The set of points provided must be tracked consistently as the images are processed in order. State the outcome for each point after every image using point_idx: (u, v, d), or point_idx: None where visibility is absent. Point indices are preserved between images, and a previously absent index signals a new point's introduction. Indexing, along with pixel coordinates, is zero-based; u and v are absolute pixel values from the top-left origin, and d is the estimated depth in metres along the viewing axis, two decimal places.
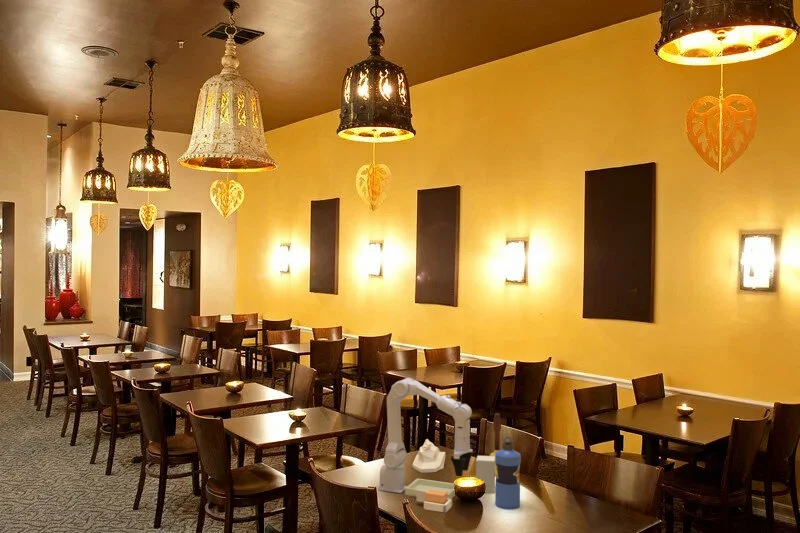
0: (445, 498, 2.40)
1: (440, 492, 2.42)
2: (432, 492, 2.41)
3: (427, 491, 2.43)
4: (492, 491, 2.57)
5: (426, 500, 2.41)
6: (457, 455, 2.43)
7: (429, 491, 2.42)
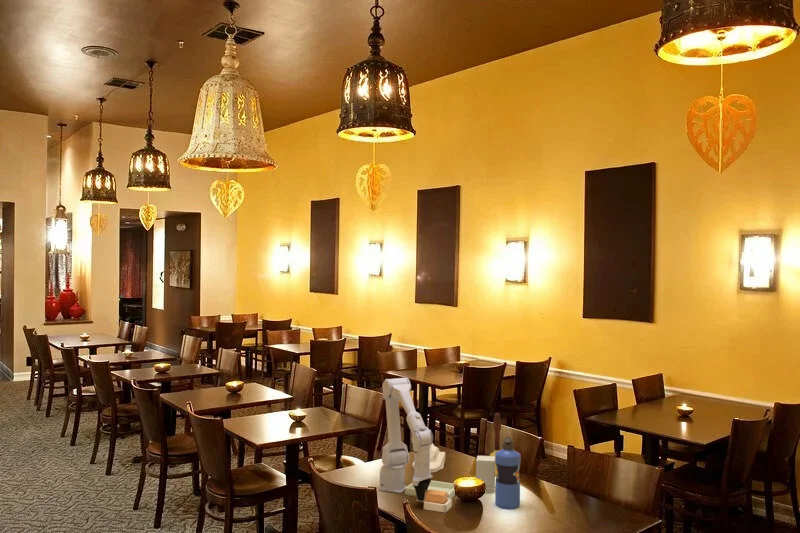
0: (445, 498, 2.40)
1: (440, 492, 2.42)
2: (432, 492, 2.41)
3: (427, 491, 2.43)
4: (492, 491, 2.57)
5: (426, 500, 2.41)
6: (415, 482, 2.37)
7: (429, 491, 2.42)
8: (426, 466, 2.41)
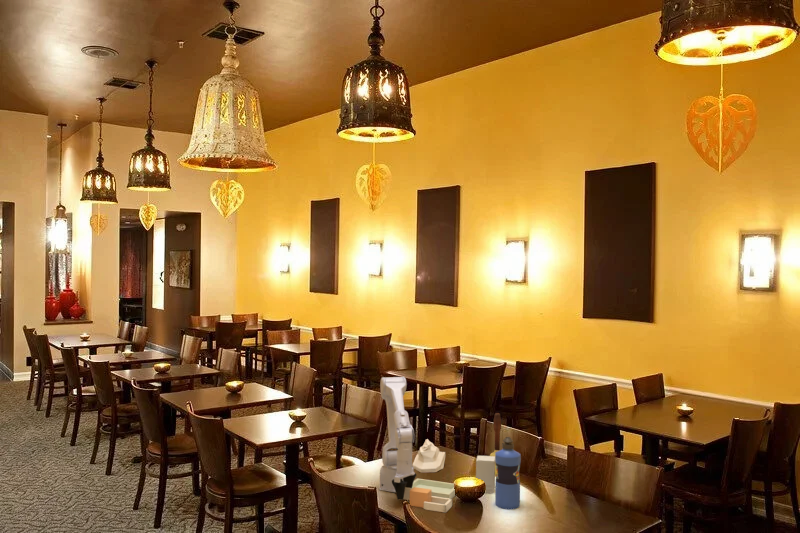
0: (429, 496, 2.43)
1: (424, 490, 2.44)
2: (416, 490, 2.44)
3: (411, 488, 2.45)
4: (492, 491, 2.57)
5: (410, 498, 2.43)
6: (397, 479, 2.40)
7: (413, 489, 2.45)
8: (408, 463, 2.44)
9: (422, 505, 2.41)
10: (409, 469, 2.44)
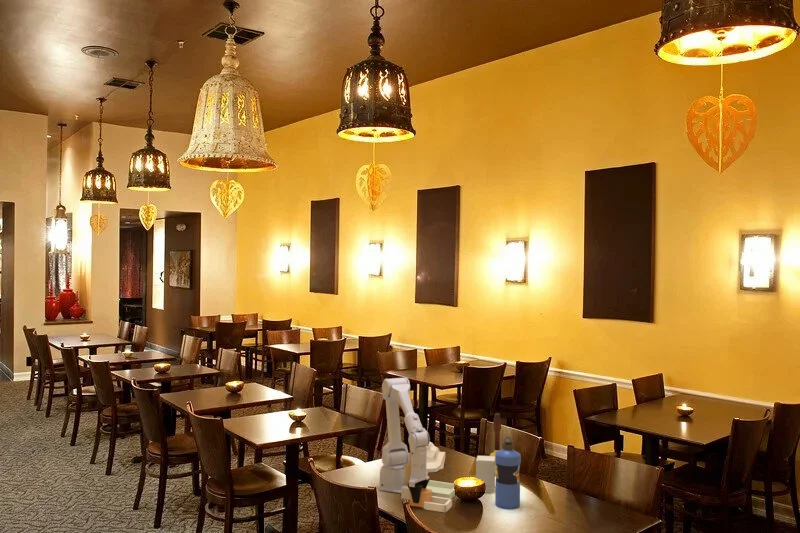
0: (429, 495, 2.43)
1: (424, 489, 2.44)
2: None
3: None
4: (492, 491, 2.57)
5: (410, 497, 2.43)
6: (412, 483, 2.37)
7: None
8: (423, 467, 2.42)
9: (422, 505, 2.41)
10: (423, 473, 2.42)
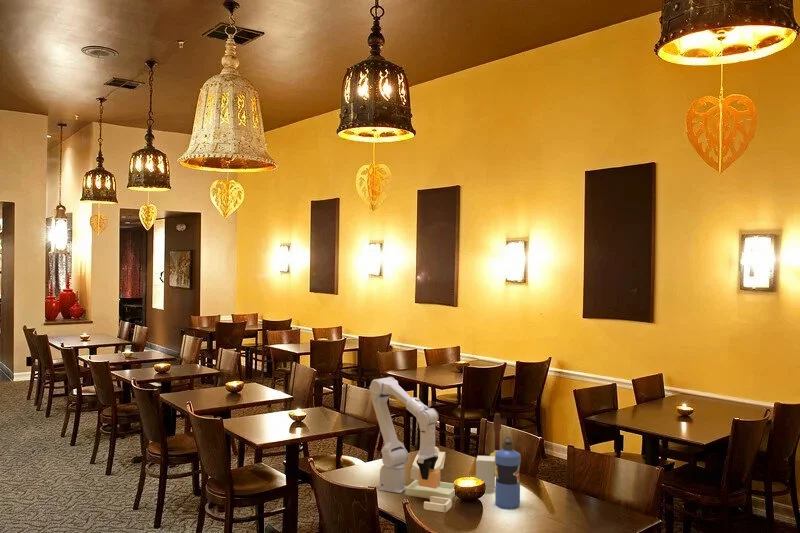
0: (438, 476, 2.48)
1: (433, 470, 2.49)
2: None
3: None
4: (492, 491, 2.57)
5: (420, 478, 2.48)
6: (421, 459, 2.43)
7: None
8: (432, 444, 2.47)
9: (431, 485, 2.47)
10: (432, 450, 2.48)
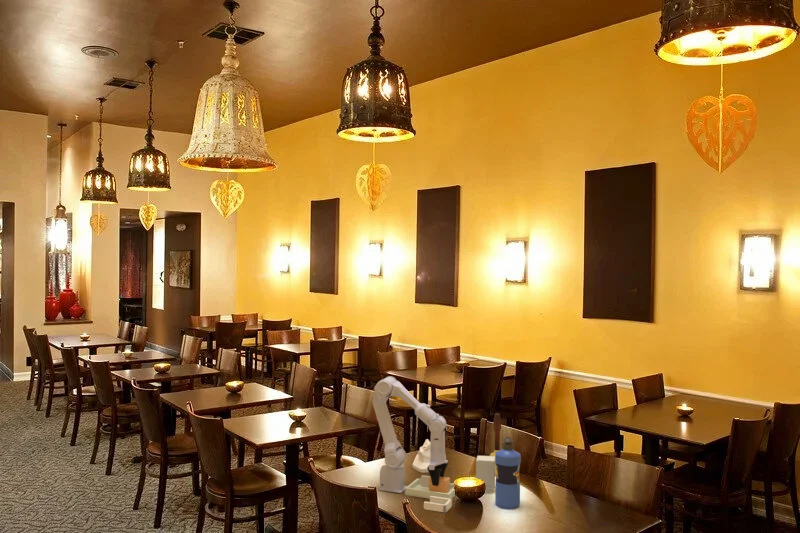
0: (448, 483, 2.55)
1: (443, 478, 2.56)
2: None
3: (430, 477, 2.57)
4: (492, 491, 2.57)
5: (430, 485, 2.55)
6: (432, 466, 2.49)
7: None
8: (442, 451, 2.54)
9: (441, 492, 2.53)
10: (442, 457, 2.54)
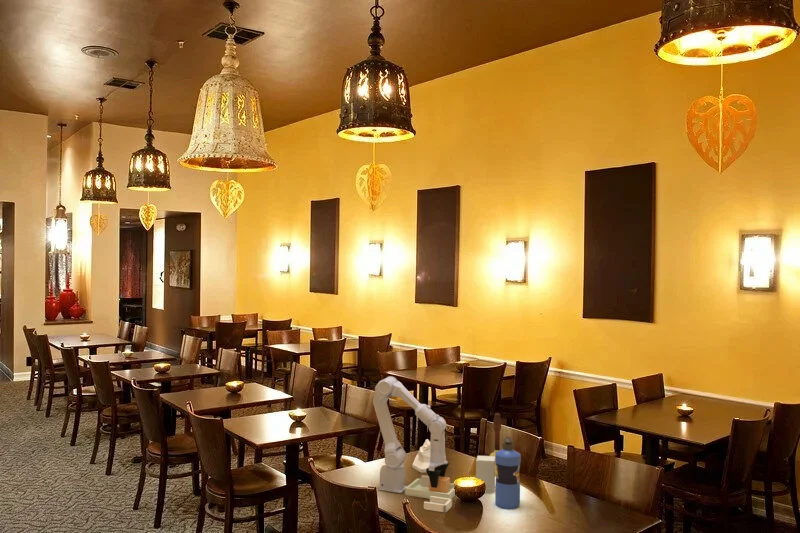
0: (448, 483, 2.55)
1: (443, 478, 2.56)
2: None
3: None
4: (492, 491, 2.57)
5: (430, 485, 2.55)
6: (432, 467, 2.49)
7: None
8: (442, 452, 2.54)
9: (441, 492, 2.53)
10: (442, 458, 2.54)
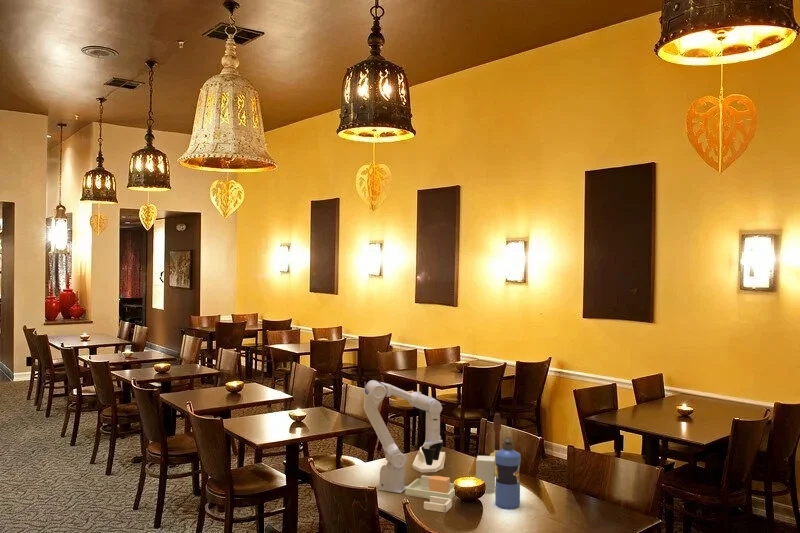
0: (448, 483, 2.55)
1: (443, 478, 2.56)
2: (436, 478, 2.56)
3: (430, 477, 2.57)
4: (492, 491, 2.57)
5: (430, 485, 2.55)
6: (427, 445, 2.59)
7: (433, 477, 2.57)
8: (437, 431, 2.63)
9: (441, 492, 2.53)
10: (437, 437, 2.63)
